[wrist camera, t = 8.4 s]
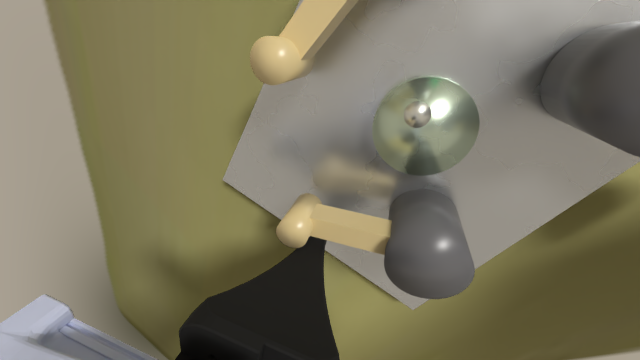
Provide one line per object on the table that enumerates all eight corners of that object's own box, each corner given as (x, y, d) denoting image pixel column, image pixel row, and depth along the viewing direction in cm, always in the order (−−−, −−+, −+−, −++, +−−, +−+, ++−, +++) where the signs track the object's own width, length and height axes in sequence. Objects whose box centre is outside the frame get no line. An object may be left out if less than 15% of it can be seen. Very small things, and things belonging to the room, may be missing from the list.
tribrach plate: (825, 4, 8) (965, -11, 6) (412, 294, 17) (413, 325, 15) (437, -281, 7) (448, -395, 6) (233, 171, 17) (211, 187, 15)
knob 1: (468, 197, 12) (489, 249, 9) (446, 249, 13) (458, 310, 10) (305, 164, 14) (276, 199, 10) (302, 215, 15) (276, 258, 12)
